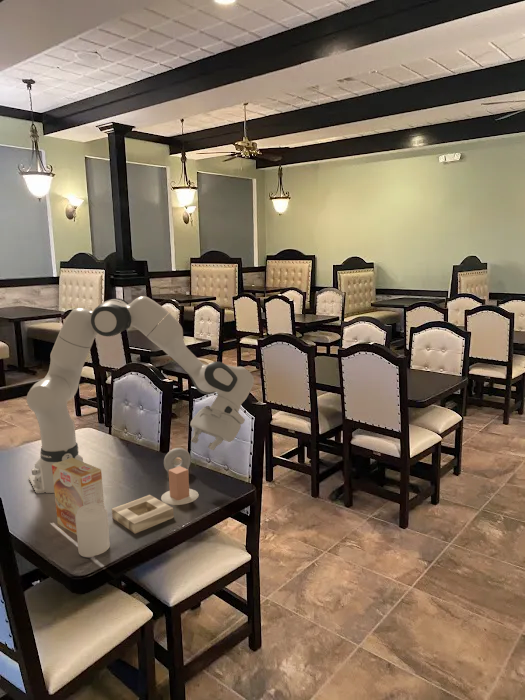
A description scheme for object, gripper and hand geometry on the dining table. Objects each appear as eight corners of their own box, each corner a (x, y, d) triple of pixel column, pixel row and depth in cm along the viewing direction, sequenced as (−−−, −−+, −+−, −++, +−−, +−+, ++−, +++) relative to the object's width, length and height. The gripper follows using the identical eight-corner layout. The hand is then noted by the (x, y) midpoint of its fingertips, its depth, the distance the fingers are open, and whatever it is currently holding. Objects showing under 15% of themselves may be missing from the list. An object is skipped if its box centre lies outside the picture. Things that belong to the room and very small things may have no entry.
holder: (112, 521, 160) (111, 508, 159) (150, 506, 169) (149, 494, 168) (135, 536, 151) (134, 523, 150) (173, 520, 159) (173, 508, 159)
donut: (166, 479, 189) (164, 452, 187) (163, 475, 192) (161, 449, 190) (192, 473, 194) (191, 447, 192) (189, 470, 197) (188, 444, 195)
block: (169, 496, 173) (168, 470, 172) (181, 491, 176) (180, 466, 175) (177, 500, 170) (176, 473, 168) (189, 496, 173) (188, 469, 171)
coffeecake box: (56, 526, 157) (50, 464, 154) (78, 517, 163) (72, 456, 159) (85, 543, 148) (79, 476, 144) (107, 532, 153) (102, 468, 150)
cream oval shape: (154, 499, 174) (153, 496, 173) (184, 487, 182) (184, 485, 181) (175, 511, 165) (174, 508, 165) (206, 498, 173) (206, 495, 173)
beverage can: (92, 562, 138) (89, 519, 136) (72, 554, 143) (68, 512, 141) (116, 547, 145) (113, 506, 143) (96, 540, 149) (92, 500, 147)
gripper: (199, 400, 187) (177, 433, 182) (237, 411, 172) (215, 448, 168) (210, 409, 191) (189, 442, 186) (248, 421, 176) (226, 457, 171)
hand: (201, 445), depth 177 cm, fingers open, 8 cm apart
